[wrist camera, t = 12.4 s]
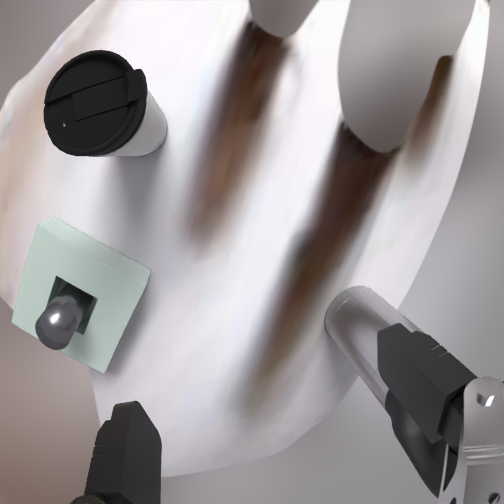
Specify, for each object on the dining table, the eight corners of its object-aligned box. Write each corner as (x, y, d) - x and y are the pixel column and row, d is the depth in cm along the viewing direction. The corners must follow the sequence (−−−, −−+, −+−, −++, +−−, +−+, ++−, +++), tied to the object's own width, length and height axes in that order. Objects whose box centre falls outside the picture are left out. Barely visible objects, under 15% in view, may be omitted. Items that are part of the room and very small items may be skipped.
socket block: (151, 269, 37) (146, 285, 32) (111, 351, 39) (104, 373, 35) (55, 215, 33) (38, 224, 28) (26, 305, 35) (11, 322, 30)
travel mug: (174, 148, 33) (153, 138, 15) (119, 161, 33) (41, 171, 14) (166, 96, 31) (139, 31, 13) (110, 110, 31) (30, 68, 12)
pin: (98, 287, 35) (73, 327, 26) (88, 311, 36) (64, 356, 27) (71, 271, 34) (39, 308, 25) (62, 297, 35) (32, 337, 25)
